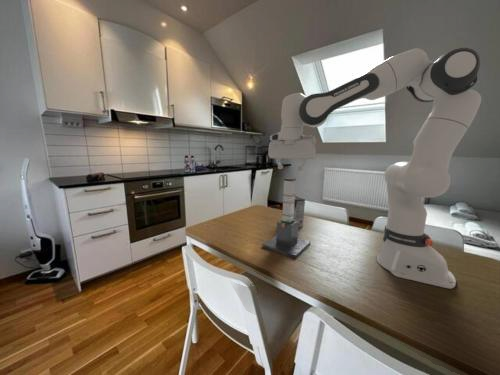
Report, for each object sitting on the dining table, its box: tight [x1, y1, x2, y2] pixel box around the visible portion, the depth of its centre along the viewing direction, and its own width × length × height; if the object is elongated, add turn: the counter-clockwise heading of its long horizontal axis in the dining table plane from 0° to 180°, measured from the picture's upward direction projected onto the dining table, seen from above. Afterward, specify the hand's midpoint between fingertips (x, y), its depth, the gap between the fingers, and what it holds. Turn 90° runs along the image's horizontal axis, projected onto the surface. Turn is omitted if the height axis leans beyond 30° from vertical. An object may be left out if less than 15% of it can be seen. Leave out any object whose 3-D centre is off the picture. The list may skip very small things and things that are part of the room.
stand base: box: [261, 219, 311, 260], centre depth 92 cm, size 16×16×12 cm
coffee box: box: [293, 195, 306, 228], centre depth 118 cm, size 9×6×16 cm
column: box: [281, 177, 297, 224], centre depth 89 cm, size 4×4×23 cm
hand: (290, 169), depth 86 cm, fingers open, 8 cm apart
